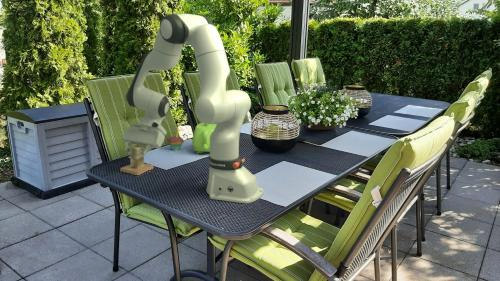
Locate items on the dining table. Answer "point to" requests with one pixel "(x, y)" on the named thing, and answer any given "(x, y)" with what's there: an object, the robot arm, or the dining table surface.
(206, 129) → the teapot
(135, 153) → the post
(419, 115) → the dining table surface
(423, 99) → the dining table surface
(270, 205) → the dining table surface
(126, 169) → the tile
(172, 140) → the cupcake
